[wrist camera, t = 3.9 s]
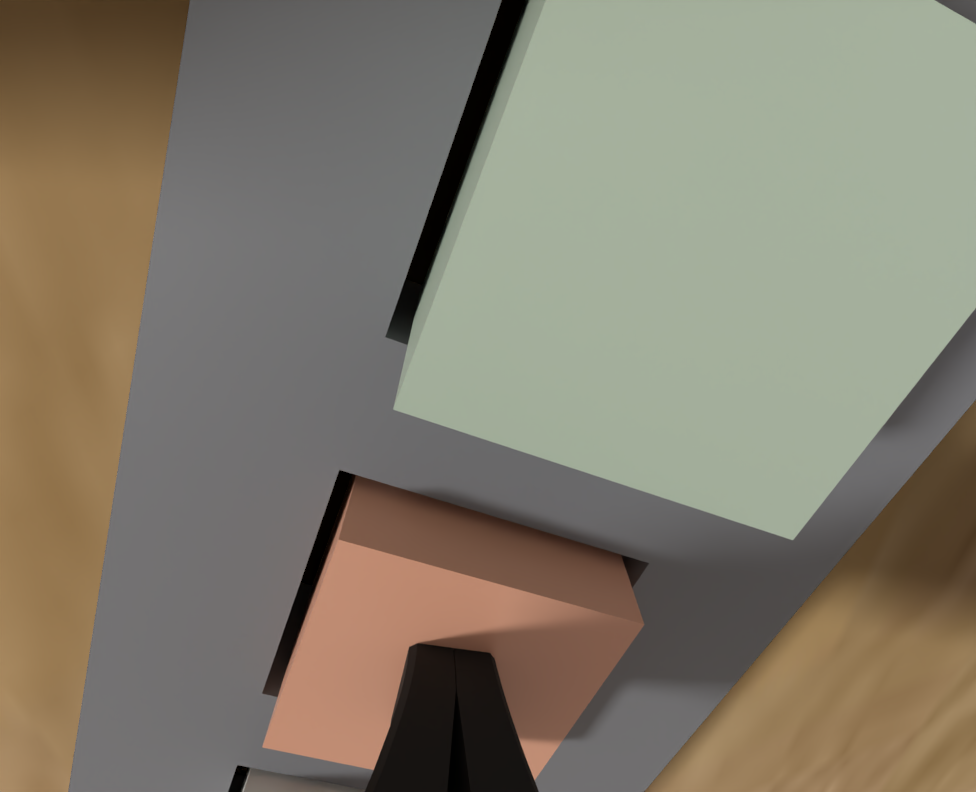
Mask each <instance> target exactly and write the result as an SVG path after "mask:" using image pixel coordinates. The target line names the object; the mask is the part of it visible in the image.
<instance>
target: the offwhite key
mask: <svg viewBox="0 0 976 792" xmlns="http://www.w3.org/2000/svg"><path fill="white" fill-rule="evenodd" d="M240 792H365V790H363V789H357V788H352V787H347V786H342V785H337V784H332V783H327V782H322V781H317V780H311V779H306V778H301V777H296V776H291V775H286V774H281V773H276V772H271V771H265V770H260V769H255V768H250V767H249V768H248V771H247V774H246V776H245V779H244V782H243V785H242V788H241V790H240Z"/></svg>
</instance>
